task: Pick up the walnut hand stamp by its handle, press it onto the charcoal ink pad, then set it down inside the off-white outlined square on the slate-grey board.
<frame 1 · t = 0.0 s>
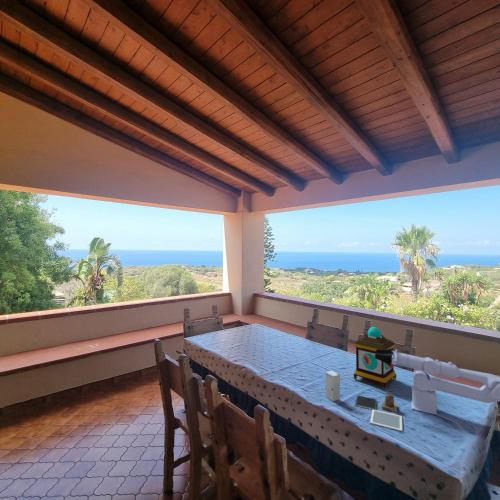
hand: (375, 353, 138), 22 cm above the table, tool horizontal, fingers open, 7 cm apart
ink pad: (365, 403, 132), on the table
marked board: (386, 420, 118), on the table
skincare box: (332, 398, 137), on the table
stamp: (389, 408, 128), on the table
decorative lantern: (375, 380, 159), on the table
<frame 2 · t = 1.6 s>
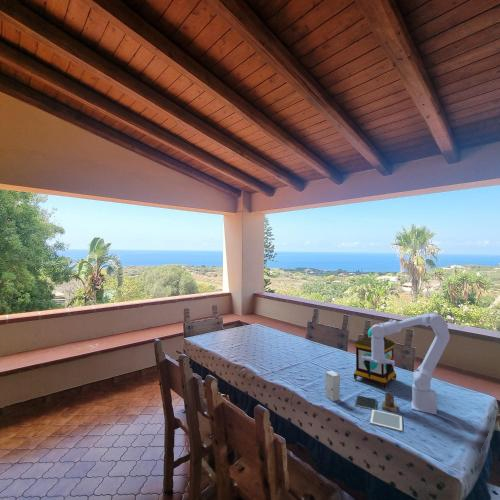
hand: (378, 377, 137), 10 cm above the table, tool pointing down, fingers open, 7 cm apart
nothing on the table moved.
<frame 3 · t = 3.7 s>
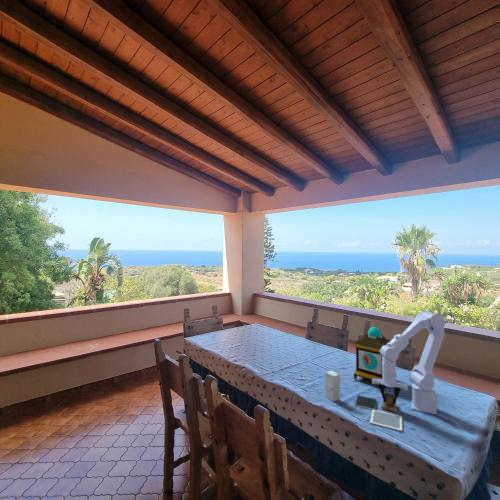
hand: (389, 402, 129), 2 cm above the table, tool pointing down, fingers closed on stamp, 4 cm apart
stamp: (389, 407, 128), on the table, touching gripper
everything else where it was.
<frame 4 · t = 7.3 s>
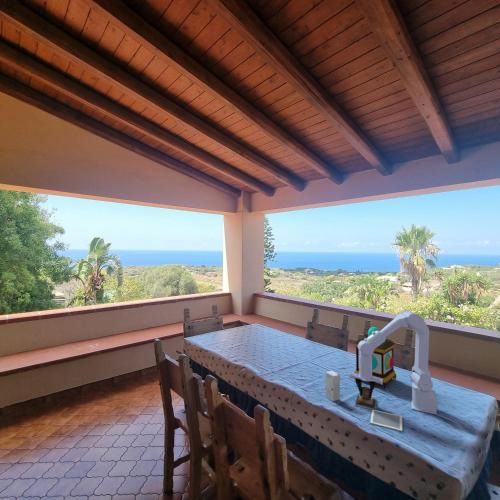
hand: (365, 396, 132), 3 cm above the table, tool pointing down, fingers closed on stamp, 4 cm apart
stamp: (365, 401, 132), point 1 cm above the table, touching gripper, ink pad
everything else where it was.
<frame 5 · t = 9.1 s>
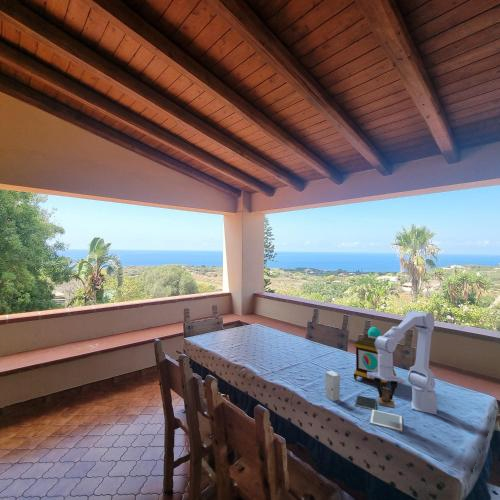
hand: (385, 397, 119), 9 cm above the table, tool pointing down, fingers closed on stamp, 4 cm apart
stamp: (386, 403, 119), point 7 cm above the table, touching gripper
everything else where it was.
when the fingers open (4 cm above the table, at t = 10.8 s): stamp stays where it is, resting on marked board.
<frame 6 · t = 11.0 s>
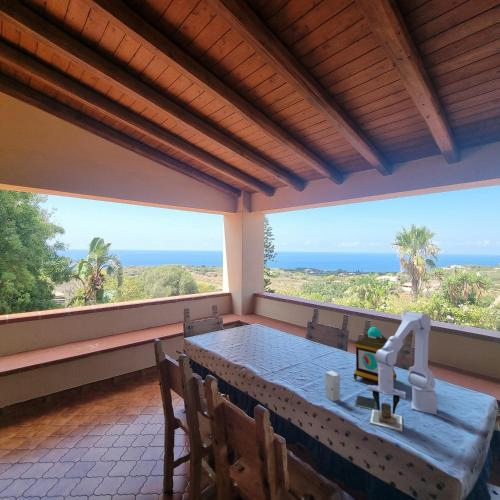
hand: (386, 411, 118), 4 cm above the table, tool pointing down, fingers open, 5 cm apart
stamp: (386, 419, 118), resting on marked board
everything else where it was.
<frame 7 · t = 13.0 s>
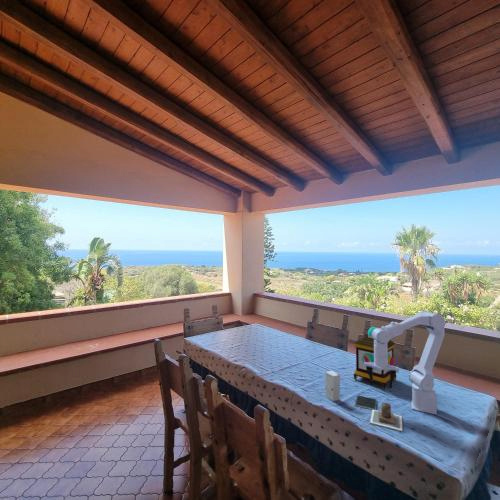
hand: (381, 385, 128), 10 cm above the table, tool pointing down, fingers open, 7 cm apart
nothing on the table moved.
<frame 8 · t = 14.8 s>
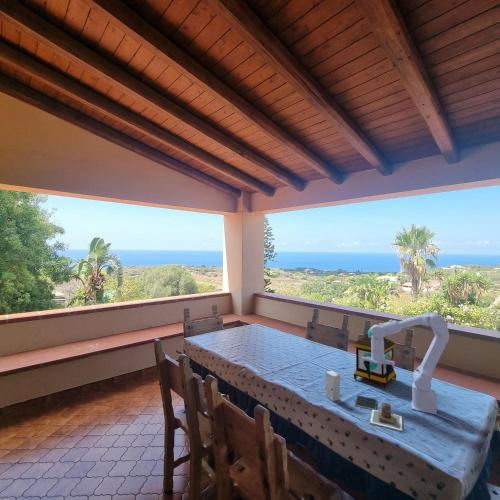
hand: (378, 378, 136), 10 cm above the table, tool pointing down, fingers open, 7 cm apart
nothing on the table moved.
at the end: stamp 0.1 cm off-centre on the marked board, point 0.4 cm above the marked board's base; stamp tilted 0°; the gripper is holding nothing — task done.
